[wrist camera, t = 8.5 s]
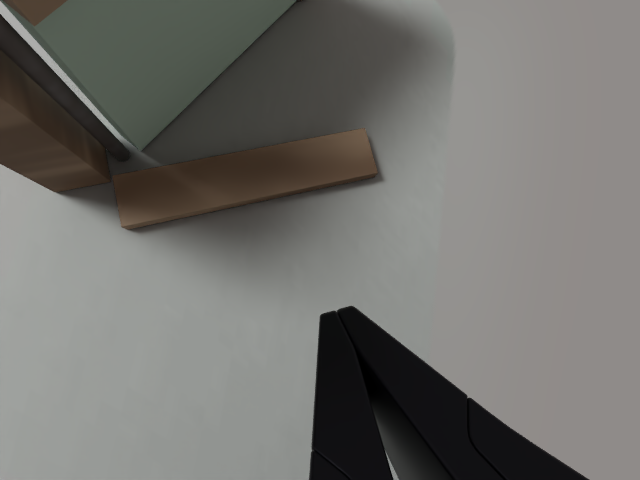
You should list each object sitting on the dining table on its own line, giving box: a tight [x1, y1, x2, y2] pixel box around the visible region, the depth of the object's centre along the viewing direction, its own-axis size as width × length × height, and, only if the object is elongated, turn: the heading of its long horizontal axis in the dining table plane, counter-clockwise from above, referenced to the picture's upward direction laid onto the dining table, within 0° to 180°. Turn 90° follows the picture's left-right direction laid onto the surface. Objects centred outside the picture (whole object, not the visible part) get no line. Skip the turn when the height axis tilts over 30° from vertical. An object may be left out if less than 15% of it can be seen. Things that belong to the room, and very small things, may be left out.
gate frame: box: [0, 14, 378, 230], centre depth 15 cm, size 6×18×14 cm, turn 104°
